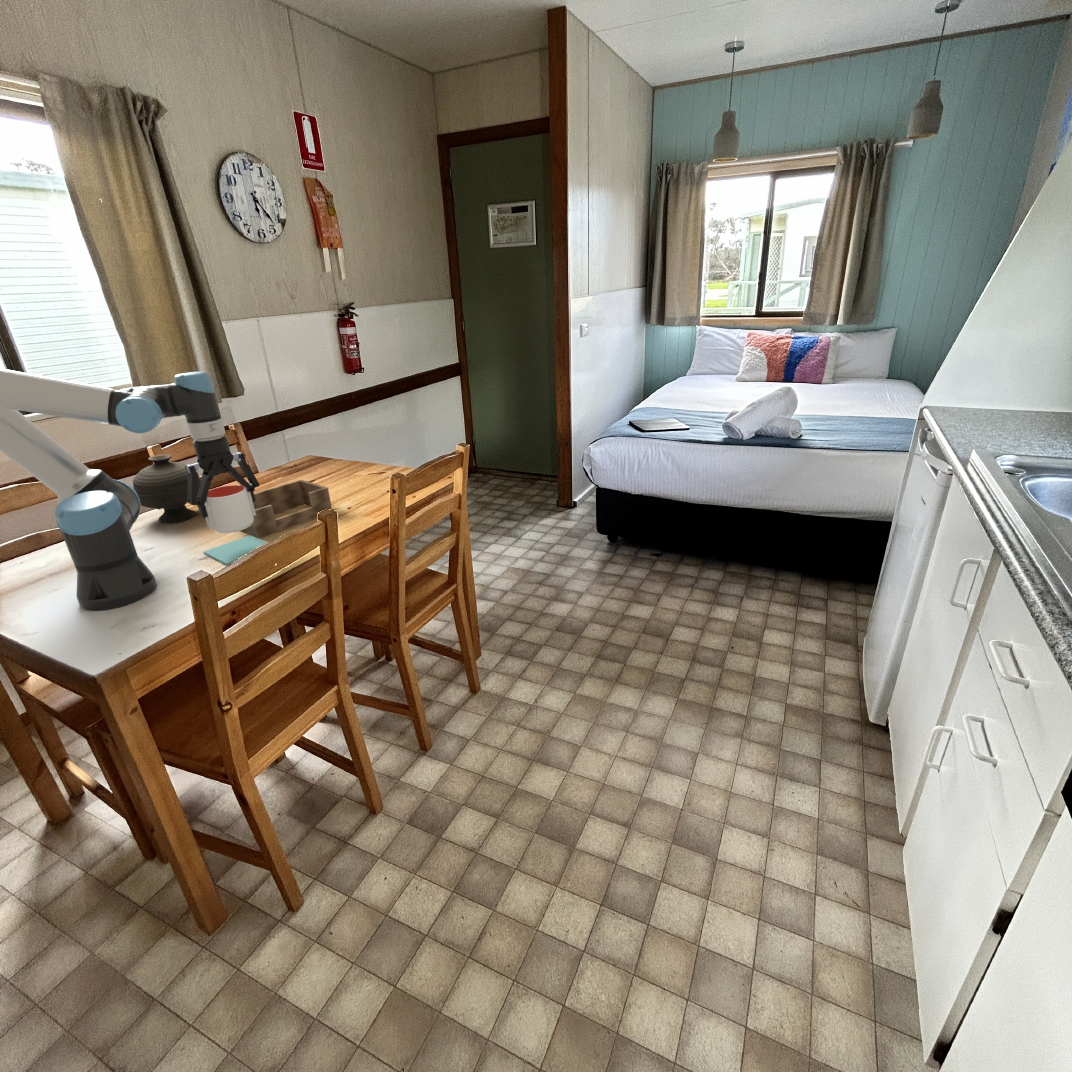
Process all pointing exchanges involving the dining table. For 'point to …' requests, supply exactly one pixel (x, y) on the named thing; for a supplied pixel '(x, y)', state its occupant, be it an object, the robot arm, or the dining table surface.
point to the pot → (165, 488)
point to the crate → (287, 506)
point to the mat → (234, 549)
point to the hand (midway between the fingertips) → (232, 521)
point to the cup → (230, 508)
